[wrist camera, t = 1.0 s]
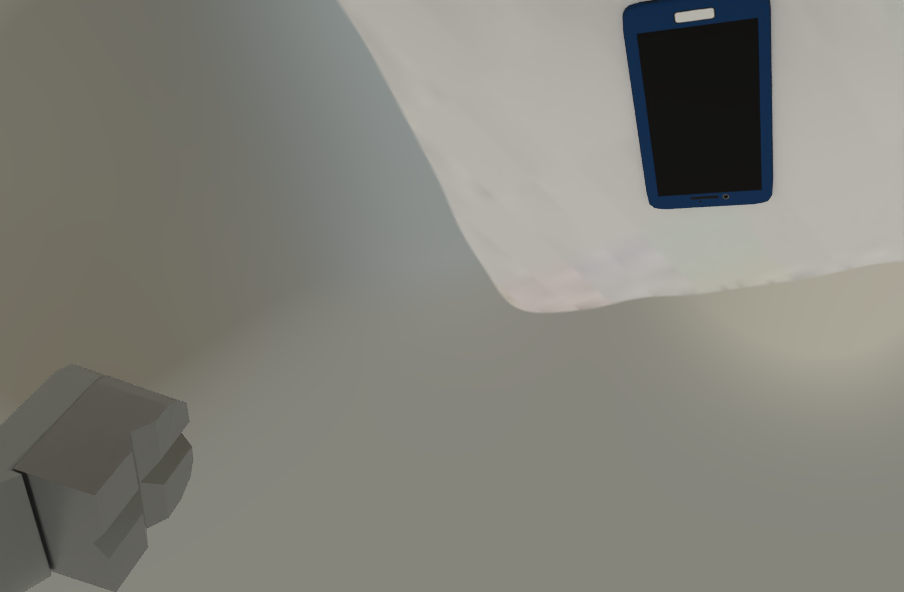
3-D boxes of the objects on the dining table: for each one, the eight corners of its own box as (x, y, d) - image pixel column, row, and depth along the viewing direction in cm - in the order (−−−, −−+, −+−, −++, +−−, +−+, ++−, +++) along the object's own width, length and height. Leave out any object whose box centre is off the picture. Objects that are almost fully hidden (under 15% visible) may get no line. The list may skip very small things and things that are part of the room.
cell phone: (770, -21, 41) (770, -13, 41) (773, 196, 51) (773, 204, 50) (620, 1, 44) (619, 8, 43) (649, 204, 53) (648, 211, 53)
